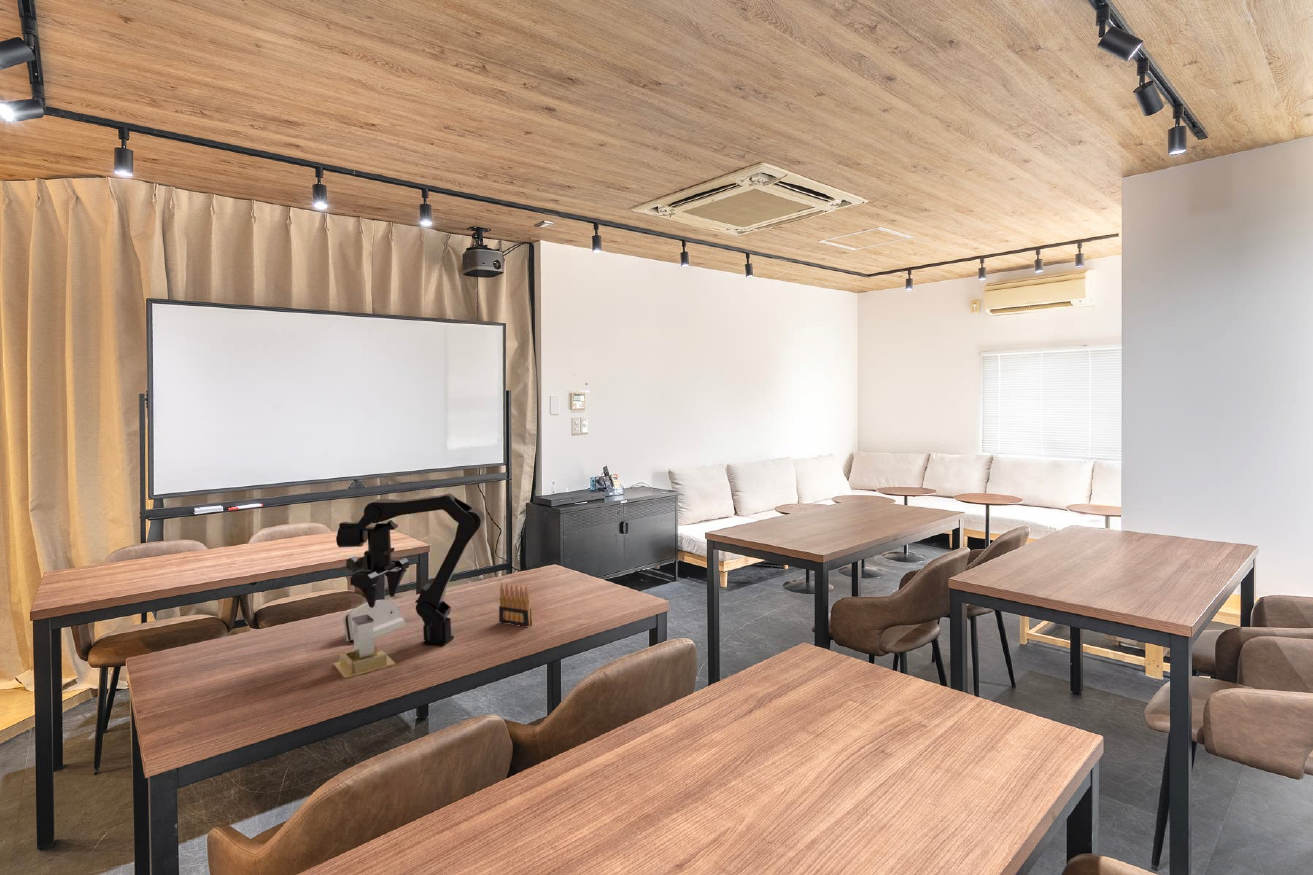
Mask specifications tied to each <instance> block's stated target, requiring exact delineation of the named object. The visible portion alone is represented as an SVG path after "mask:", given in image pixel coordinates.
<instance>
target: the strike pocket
mask: <svg viewBox="0 0 1313 875" xmlns="http://www.w3.org/2000/svg"><path fill="white" fill-rule="evenodd" d="M374 655H375V657H371V658H367V659H363V660H359V661H355V656H354V649H352V650H347V651H343V652H340V653H339V655H338V656H339V661H338V662H334V663H333V666H334V667H335V668H336V670H337V671H338V672H339V674H341V676H342V677H343V678H344V679H349V678H351V677H355V676H358V675H362V674H366V673H369V672H373V671H377V670H380V669H384V668H388V667H391V666H395V665H396V662H395V661H394V660H393V659H392V658H391V657H390V656H389V655H387V653H385V652H384V650H380V651H378V647H377V645H376V644H374Z"/></svg>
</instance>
